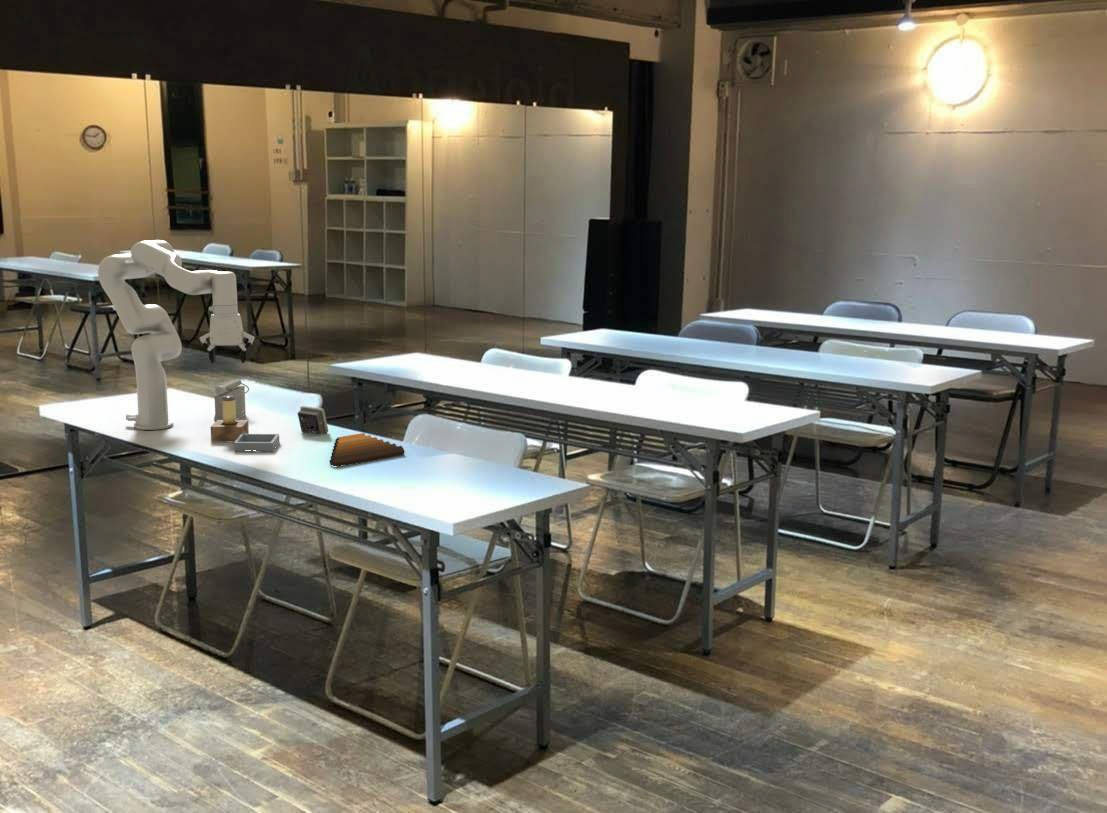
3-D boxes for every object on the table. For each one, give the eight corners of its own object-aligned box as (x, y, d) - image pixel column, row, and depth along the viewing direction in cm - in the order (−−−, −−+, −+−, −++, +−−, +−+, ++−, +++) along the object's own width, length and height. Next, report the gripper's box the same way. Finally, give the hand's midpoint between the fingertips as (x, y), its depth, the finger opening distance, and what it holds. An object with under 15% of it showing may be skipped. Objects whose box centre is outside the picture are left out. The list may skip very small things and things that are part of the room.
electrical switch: (329, 433, 353) (327, 407, 350) (320, 437, 348) (317, 411, 345) (306, 430, 356) (304, 404, 354) (297, 434, 352) (294, 408, 349)
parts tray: (233, 451, 325) (233, 442, 324) (241, 442, 336) (241, 433, 336) (272, 452, 326) (272, 442, 325) (279, 442, 337) (279, 433, 337)
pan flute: (335, 469, 310) (404, 457, 327) (335, 458, 309) (404, 446, 326) (293, 453, 328) (361, 441, 344) (293, 442, 327) (361, 432, 344)
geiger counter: (233, 376, 374) (204, 389, 350) (250, 377, 374) (222, 390, 350) (235, 414, 377) (206, 429, 353) (252, 414, 377) (224, 430, 352)
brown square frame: (211, 441, 336) (210, 426, 335) (218, 434, 346) (217, 419, 345) (242, 441, 337) (242, 426, 336) (248, 434, 347) (248, 420, 346)
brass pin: (222, 439, 340) (221, 397, 337) (225, 436, 344) (223, 395, 341) (235, 439, 340) (233, 398, 337) (237, 436, 344) (236, 395, 341)
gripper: (195, 311, 329) (198, 364, 333) (250, 311, 331) (253, 364, 334) (201, 309, 337) (204, 360, 340) (255, 308, 338) (257, 360, 342)
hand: (228, 362), depth 337 cm, fingers open, 9 cm apart
